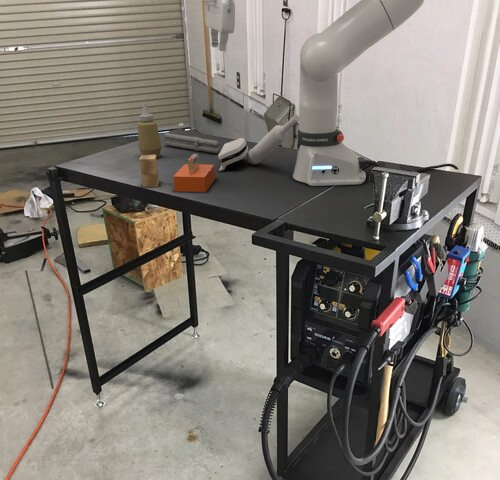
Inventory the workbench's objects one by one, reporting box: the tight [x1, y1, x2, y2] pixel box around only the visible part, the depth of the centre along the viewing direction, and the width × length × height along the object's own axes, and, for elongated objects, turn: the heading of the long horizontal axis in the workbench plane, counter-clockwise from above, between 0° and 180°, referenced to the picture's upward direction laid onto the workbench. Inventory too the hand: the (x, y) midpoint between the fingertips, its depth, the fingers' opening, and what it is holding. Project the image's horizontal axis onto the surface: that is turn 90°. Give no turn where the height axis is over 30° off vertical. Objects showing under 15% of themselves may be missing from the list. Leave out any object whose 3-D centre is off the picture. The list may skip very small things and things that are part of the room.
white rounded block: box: [217, 137, 249, 172], centre depth 180 cm, size 17×5×10 cm
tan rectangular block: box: [187, 153, 200, 173], centre depth 161 cm, size 6×2×4 cm, turn 171°
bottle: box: [246, 114, 299, 165], centre depth 171 cm, size 5×5×25 cm
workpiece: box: [138, 154, 160, 188], centre depth 164 cm, size 5×5×8 cm
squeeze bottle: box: [137, 103, 162, 159], centre depth 188 cm, size 8×8×18 cm
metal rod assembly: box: [163, 132, 221, 155], centre depth 199 cm, size 26×3×5 cm, turn 54°
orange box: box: [172, 163, 216, 193], centre depth 163 cm, size 13×11×5 cm
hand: (218, 49), depth 151 cm, fingers open, 8 cm apart
